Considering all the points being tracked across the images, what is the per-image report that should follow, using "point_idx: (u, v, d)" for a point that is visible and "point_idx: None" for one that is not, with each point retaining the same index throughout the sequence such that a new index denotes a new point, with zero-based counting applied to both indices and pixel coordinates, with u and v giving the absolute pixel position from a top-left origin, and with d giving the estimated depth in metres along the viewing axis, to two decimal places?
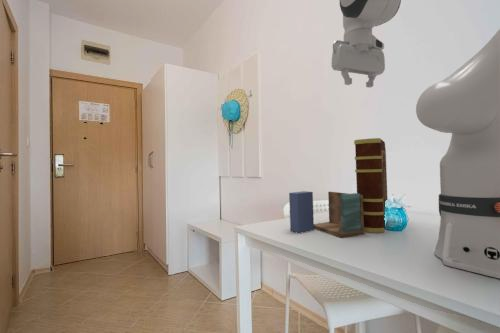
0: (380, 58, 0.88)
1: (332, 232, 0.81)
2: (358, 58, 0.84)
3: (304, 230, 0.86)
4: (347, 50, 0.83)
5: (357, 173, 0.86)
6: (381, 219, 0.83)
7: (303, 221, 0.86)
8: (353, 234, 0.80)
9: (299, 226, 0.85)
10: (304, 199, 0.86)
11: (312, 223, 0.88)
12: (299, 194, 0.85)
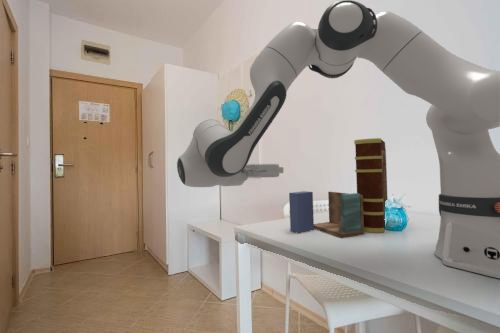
0: None
1: (332, 232, 0.81)
2: None
3: (304, 230, 0.86)
4: None
5: (357, 173, 0.86)
6: (381, 219, 0.83)
7: (303, 221, 0.86)
8: (353, 234, 0.80)
9: (299, 226, 0.85)
10: (304, 199, 0.86)
11: (312, 223, 0.88)
12: (299, 194, 0.85)
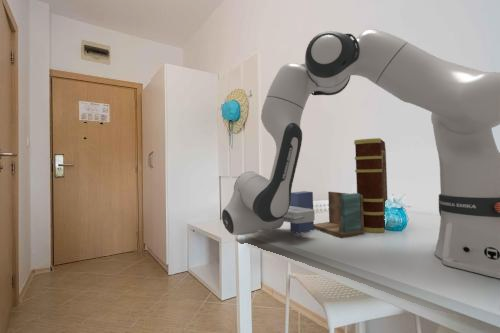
0: None
1: (332, 232, 0.81)
2: (289, 207, 0.83)
3: (304, 230, 0.86)
4: (293, 210, 0.78)
5: (357, 173, 0.86)
6: (381, 219, 0.83)
7: None
8: (353, 234, 0.80)
9: (299, 226, 0.85)
10: (304, 199, 0.86)
11: (312, 223, 0.88)
12: (299, 194, 0.85)
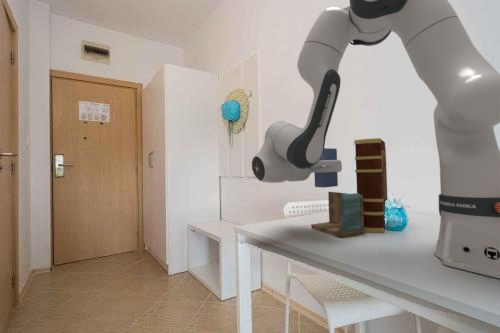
0: None
1: (332, 232, 0.81)
2: None
3: (329, 185, 0.87)
4: None
5: (357, 173, 0.86)
6: (381, 219, 0.83)
7: (328, 176, 0.87)
8: (353, 234, 0.80)
9: (324, 180, 0.86)
10: (328, 155, 0.88)
11: (336, 179, 0.89)
12: (324, 149, 0.86)
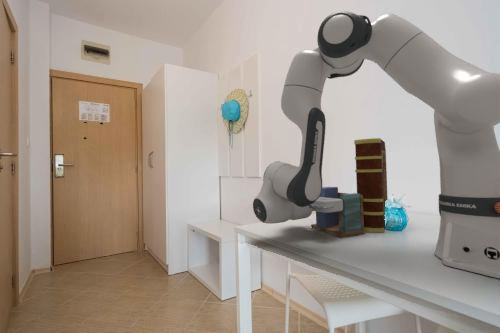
0: None
1: (332, 232, 0.81)
2: None
3: (330, 225, 0.87)
4: None
5: (357, 173, 0.86)
6: (381, 219, 0.83)
7: (330, 216, 0.87)
8: (353, 234, 0.80)
9: (326, 221, 0.86)
10: (330, 194, 0.88)
11: (338, 218, 0.89)
12: (325, 189, 0.86)
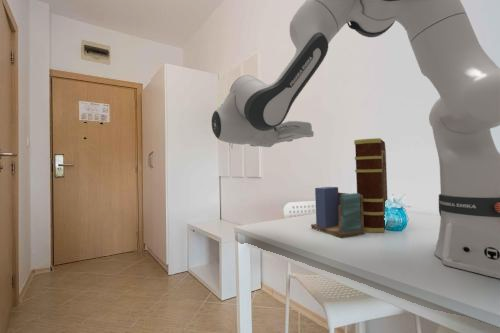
0: None
1: (332, 232, 0.81)
2: None
3: (330, 225, 0.87)
4: None
5: (357, 173, 0.86)
6: (381, 219, 0.83)
7: (330, 216, 0.87)
8: (353, 234, 0.80)
9: (326, 221, 0.86)
10: (330, 195, 0.87)
11: (338, 218, 0.89)
12: (326, 189, 0.86)
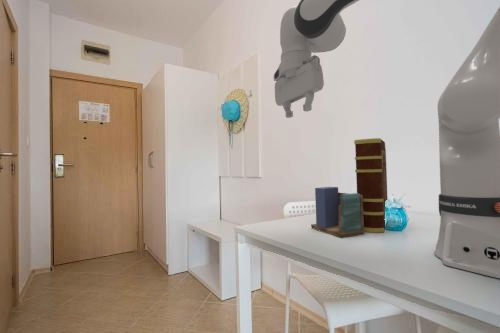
0: None
1: (332, 232, 0.81)
2: None
3: (330, 225, 0.87)
4: None
5: (357, 173, 0.86)
6: (381, 219, 0.83)
7: (330, 216, 0.87)
8: (353, 234, 0.80)
9: (326, 221, 0.86)
10: (330, 195, 0.87)
11: (338, 218, 0.89)
12: (326, 189, 0.86)
